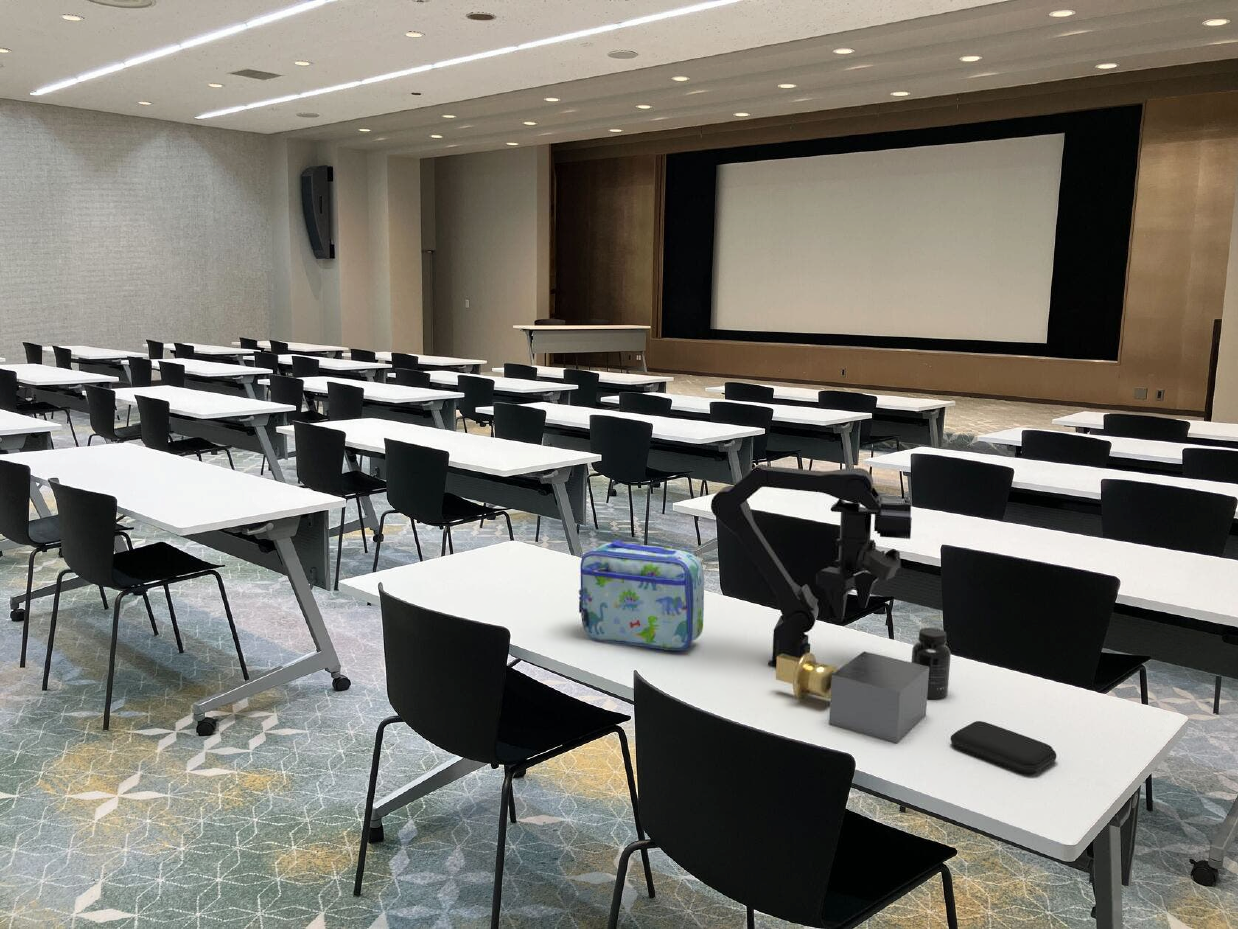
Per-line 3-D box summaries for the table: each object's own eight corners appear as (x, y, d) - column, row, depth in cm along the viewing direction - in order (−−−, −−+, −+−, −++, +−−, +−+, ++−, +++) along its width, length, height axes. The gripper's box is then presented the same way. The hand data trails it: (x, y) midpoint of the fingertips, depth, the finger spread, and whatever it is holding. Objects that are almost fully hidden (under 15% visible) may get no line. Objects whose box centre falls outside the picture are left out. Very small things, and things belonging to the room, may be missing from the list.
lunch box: (573, 639, 208) (573, 544, 205) (595, 624, 218) (596, 532, 214) (688, 660, 198) (690, 559, 194) (706, 643, 207) (709, 547, 204)
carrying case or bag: (1063, 761, 158) (978, 730, 168) (1065, 743, 157) (979, 713, 168) (1032, 782, 151) (945, 748, 161) (1033, 763, 150) (946, 731, 161)
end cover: (767, 697, 179) (768, 654, 178) (788, 683, 186) (790, 641, 184) (821, 713, 173) (823, 667, 171) (840, 697, 180) (843, 653, 178)
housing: (829, 724, 169) (831, 674, 167) (861, 698, 180) (864, 651, 179) (896, 743, 162) (900, 692, 160) (925, 715, 173) (929, 666, 172)
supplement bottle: (901, 688, 185) (905, 627, 183) (931, 683, 187) (936, 623, 185) (924, 702, 179) (929, 639, 176) (955, 697, 181) (960, 635, 179)
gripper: (870, 551, 176) (867, 634, 179) (916, 532, 190) (912, 610, 192) (816, 541, 183) (813, 621, 186) (863, 524, 197) (860, 599, 200)
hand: (851, 613), depth 191 cm, fingers open, 9 cm apart
